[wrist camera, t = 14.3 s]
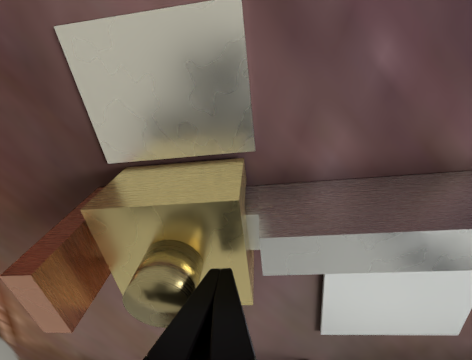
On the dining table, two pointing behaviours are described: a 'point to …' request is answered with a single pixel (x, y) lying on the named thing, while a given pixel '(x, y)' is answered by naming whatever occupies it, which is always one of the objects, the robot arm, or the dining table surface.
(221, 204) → the clip saddle
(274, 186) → the flange rail
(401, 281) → the pad
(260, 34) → the dining table surface
